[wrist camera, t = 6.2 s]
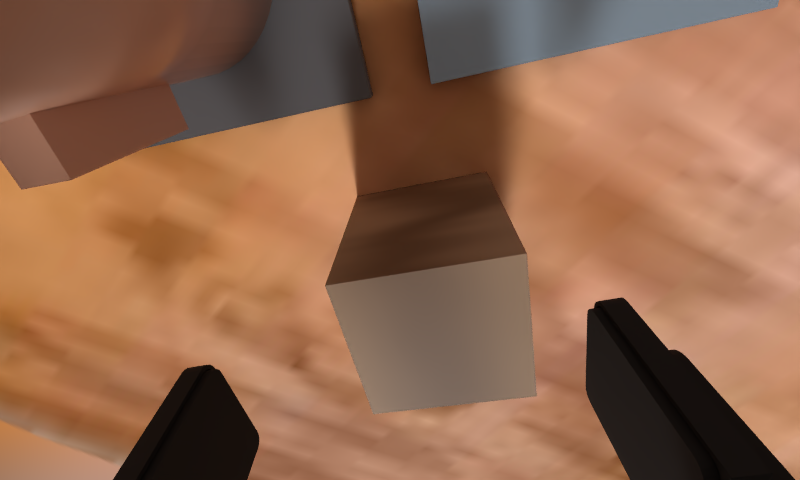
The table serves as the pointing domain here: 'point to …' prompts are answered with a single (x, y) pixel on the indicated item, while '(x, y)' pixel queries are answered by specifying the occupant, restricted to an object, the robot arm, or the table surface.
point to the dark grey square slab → (281, 71)
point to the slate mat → (550, 28)
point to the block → (435, 297)
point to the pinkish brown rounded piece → (106, 76)
